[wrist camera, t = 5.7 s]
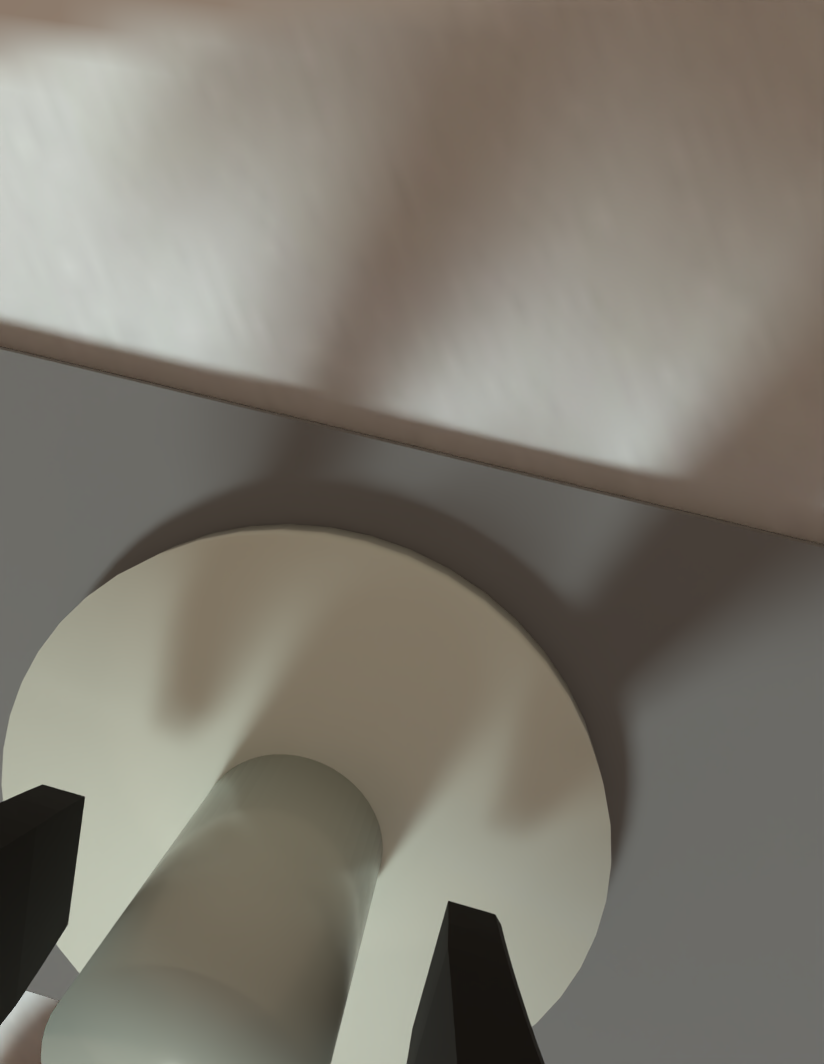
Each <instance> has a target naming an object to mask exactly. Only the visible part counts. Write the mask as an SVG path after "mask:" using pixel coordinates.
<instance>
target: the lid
mask: <svg viewBox="0 0 824 1064" xmlns="http://www.w3.org/2000/svg"><path fill="white" fill-rule="evenodd" d="M42 784H43V785H47V786H50V787H54V788H57V789H61V790H64V791H68V792H71V793H75V794H78V795H82V796H85V802H84V809H83V817H82V824H81V832H80V839H79V847H78V854H77V862H76V869H75V877H74V884H73V892H72V899H71V907H70V914H69V922H68V926H67V927H66V929H65V930H64V932H63V934H62V935H61V937H60V938H59V940H58V941H57V943H56V944H57V946H58V947H59V949H60V950H61V951H62V952H63V954H64V955H65V956H66V957H67V959H68V960H69V961H70V962H71V964H72V965H73V966H74V967H75V968H76V970H77V971H78V972H79V975H78V976H77V978H76V979H75V980H74V982H73V983H72V985H71V986H70V987H69V989H68V990H67V991H66V993H65V994H64V996H63V997H62V998H61V1000H60V1001H59V1003H58V1004H57V1006H56V1007H55V1009H54V1010H53V1012H52V1013H51V1015H50V1018H49V1020H48V1022H47V1025H46V1027H45V1031H44V1035H43V1039H42V1047H41V1064H407V1058H408V1052H409V1045H410V1039H411V1033H412V1028H413V1024H414V1020H415V1017H416V1013H417V1010H418V1006H419V1003H420V999H421V996H422V992H423V988H424V985H425V981H426V978H427V974H428V971H429V967H430V964H431V960H432V956H433V953H434V949H435V946H436V942H437V939H438V935H439V932H440V928H441V925H442V921H443V917H444V914H445V910H446V907H447V903H448V901H451V902H455V903H458V904H462V905H465V906H469V907H472V908H476V909H479V910H483V911H486V912H489V913H493V914H495V915H496V916H497V918H498V920H499V922H500V923H501V926H502V930H503V934H504V938H505V942H506V945H507V949H508V953H509V956H510V960H511V963H512V967H513V970H514V974H515V977H516V980H517V983H518V987H519V990H520V993H521V996H522V999H523V1002H524V1005H525V1008H526V1011H527V1014H528V1018H529V1021H530V1024H531V1026H534V1025H535V1024H536V1023H537V1022H538V1021H539V1020H540V1019H541V1018H542V1017H543V1016H544V1015H545V1013H546V1012H547V1011H548V1010H549V1009H550V1008H551V1007H552V1006H553V1005H554V1004H555V1003H556V1002H557V1001H558V999H559V998H560V997H561V996H562V994H563V993H564V991H565V990H566V989H567V987H568V986H569V984H570V983H571V981H572V980H573V978H574V977H575V975H576V974H577V972H578V971H579V969H580V968H581V966H582V964H583V962H584V960H585V958H586V955H587V953H588V951H589V949H590V947H591V945H592V943H593V941H594V939H595V937H596V934H597V930H598V927H599V924H600V920H601V917H602V914H603V910H604V907H605V903H606V899H607V892H608V884H609V877H610V870H611V825H610V819H609V813H608V807H607V801H606V796H605V790H604V784H603V780H602V777H601V773H600V769H599V765H598V761H597V757H596V754H595V751H594V748H593V745H592V742H591V739H590V736H589V732H588V729H587V726H586V723H585V720H584V718H583V716H582V714H581V712H580V710H579V708H578V706H577V704H576V702H575V700H574V698H573V696H572V694H571V692H570V690H569V688H568V686H567V684H566V682H565V681H564V679H563V678H562V676H561V675H560V674H559V672H558V671H557V669H556V668H555V666H554V665H553V663H552V662H551V660H550V659H549V657H548V656H547V654H546V653H545V651H544V650H543V649H542V648H541V647H540V646H539V644H538V643H537V642H536V641H535V640H534V639H533V638H532V637H531V635H530V634H529V633H528V632H527V631H526V630H525V629H524V627H523V626H522V625H521V624H520V623H519V622H518V621H517V620H516V619H515V618H514V617H513V616H512V615H511V614H509V613H508V612H507V611H506V610H505V609H504V608H503V607H501V606H500V605H499V604H498V603H497V602H496V601H495V600H493V599H492V598H491V597H490V596H489V595H488V594H486V593H485V592H484V591H482V590H481V589H479V588H478V587H476V586H475V585H473V584H472V583H470V582H469V581H467V580H466V579H464V578H463V577H461V576H460V575H458V574H457V573H455V572H454V571H452V570H451V569H449V568H447V567H445V566H443V565H441V564H439V563H437V562H435V561H433V560H431V559H429V558H427V557H425V556H423V555H421V554H419V553H417V552H415V551H413V550H411V549H408V548H405V547H402V546H400V545H397V544H394V543H391V542H388V541H385V540H382V539H380V538H377V537H374V536H370V535H366V534H361V533H356V532H352V531H347V530H342V529H337V528H333V527H323V526H310V525H298V524H279V525H259V526H248V527H242V528H237V529H232V530H227V531H221V532H216V533H211V534H208V535H205V536H202V537H200V538H197V539H194V540H191V541H188V542H185V543H182V544H179V545H176V546H174V547H172V548H170V549H168V550H166V551H164V552H162V553H160V554H158V555H156V556H154V557H152V558H150V559H148V560H146V561H144V562H142V563H140V564H138V565H136V566H134V567H132V568H130V569H128V570H126V571H124V572H122V573H120V574H118V575H117V576H115V577H114V578H112V579H111V580H110V581H108V582H107V583H105V584H104V585H103V586H101V587H100V588H98V589H97V590H96V591H94V592H93V593H91V594H90V595H89V596H87V597H86V598H85V599H84V600H83V601H82V602H81V603H80V604H79V605H78V606H77V607H76V608H75V609H74V610H73V611H72V612H70V613H69V614H68V615H67V616H66V617H65V618H64V619H63V620H62V621H61V622H60V623H59V625H58V626H57V627H56V629H55V630H54V631H53V633H52V634H51V635H50V637H49V638H48V639H47V641H46V642H45V643H44V645H43V646H42V647H41V649H40V650H39V651H38V653H37V655H36V657H35V659H34V660H33V662H32V664H31V666H30V668H29V670H28V672H27V673H26V675H25V677H24V679H23V681H22V683H21V686H20V688H19V691H18V694H17V697H16V700H15V703H14V705H13V708H12V711H11V714H10V718H9V723H8V728H7V733H6V738H5V743H4V748H3V764H2V796H3V801H5V800H7V799H9V798H12V797H14V796H16V795H18V794H21V793H23V792H25V791H28V790H30V789H32V788H35V787H37V786H40V785H42Z"/></svg>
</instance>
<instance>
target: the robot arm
mask: <svg viewBox="0 0 824 1064" xmlns="http://www.w3.org/2000/svg"><path fill="white" fill-rule="evenodd" d="M84 802H85V796H82V795H78V794H75V793H71V792H68V791H64V790H61V789H57V788H54V787H50V786H47V785H43V784H42V785H40V786H37V787H35V788H32V789H30V790H28V791H25V792H23V793H21V794H18V795H16V796H14V797H12V798H9V799H7V800H5V801H3V802H1V803H0V1025H1V1024H2V1022H3V1021H4V1020H5V1018H6V1017H7V1016H8V1015H9V1013H10V1012H11V1011H12V1010H13V1008H14V1007H15V1006H16V1004H17V1003H18V1001H19V1000H20V998H21V997H22V995H23V994H24V992H25V991H26V989H27V988H28V986H29V985H30V983H31V982H32V980H33V979H34V977H35V976H36V974H37V973H38V971H39V970H40V968H41V967H42V965H43V963H44V962H45V960H46V959H47V957H48V956H49V954H50V952H51V951H52V949H53V948H54V946H55V945H56V943H57V941H58V940H59V938H60V937H61V935H62V934H63V932H64V930H65V929H66V927H67V926H68V922H69V914H70V907H71V899H72V892H73V884H74V877H75V869H76V862H77V854H78V847H79V839H80V832H81V824H82V817H83V809H84ZM407 1064H545V1063H544V1060H543V1057H542V1055H541V1052H540V1049H539V1047H538V1044H537V1041H536V1038H535V1035H534V1032H533V1029H532V1026H531V1024H530V1021H529V1018H528V1014H527V1011H526V1008H525V1005H524V1002H523V999H522V996H521V993H520V990H519V987H518V983H517V980H516V977H515V974H514V970H513V967H512V963H511V960H510V956H509V953H508V949H507V945H506V942H505V938H504V934H503V930H502V926H501V923H500V922H499V920H498V918H497V916H496V915H495V914H493V913H489V912H486V911H483V910H479V909H476V908H472V907H469V906H465V905H462V904H458V903H455V902H451V901H448V903H447V907H446V910H445V914H444V917H443V921H442V925H441V928H440V932H439V935H438V939H437V942H436V946H435V949H434V953H433V956H432V960H431V964H430V967H429V971H428V974H427V978H426V981H425V985H424V988H423V992H422V996H421V999H420V1003H419V1006H418V1010H417V1013H416V1017H415V1020H414V1024H413V1028H412V1033H411V1039H410V1045H409V1052H408V1058H407Z"/></svg>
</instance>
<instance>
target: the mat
mask: <svg viewBox="0 0 824 1064" xmlns="http://www.w3.org/2000/svg"><path fill="white" fill-rule="evenodd" d="M279 524H298V525H310V526H323V527H333V528H337V529H342V530H347V531H352V532H356V533H361V534H366V535H370V536H374V537H377V538H380V539H382V540H385V541H388V542H391V543H394V544H397V545H400V546H402V547H405V548H408V549H411V550H413V551H415V552H417V553H419V554H421V555H423V556H425V557H427V558H429V559H431V560H433V561H435V562H437V563H439V564H441V565H443V566H445V567H447V568H449V569H451V570H452V571H454V572H455V573H457V574H458V575H460V576H461V577H463V578H464V579H466V580H467V581H469V582H470V583H472V584H473V585H475V586H476V587H478V588H479V589H481V590H482V591H484V592H485V593H486V594H488V595H489V596H490V597H491V598H492V599H493V600H495V601H496V602H497V603H498V604H499V605H500V606H501V607H503V608H504V609H505V610H506V611H507V612H508V613H509V614H511V615H512V616H513V617H514V618H515V619H516V620H517V621H518V622H519V623H520V624H521V625H522V626H523V627H524V629H525V630H526V631H527V632H528V633H529V634H530V635H531V637H532V638H533V639H534V640H535V641H536V642H537V643H538V644H539V646H540V647H541V648H542V649H543V650H544V651H545V653H546V654H547V656H548V657H549V659H550V660H551V662H552V663H553V665H554V666H555V668H556V669H557V671H558V672H559V674H560V675H561V676H562V678H563V679H564V681H565V682H566V684H567V686H568V688H569V690H570V692H571V694H572V696H573V698H574V700H575V702H576V704H577V706H578V708H579V710H580V712H581V714H582V716H583V718H584V720H585V723H586V726H587V729H588V732H589V736H590V739H591V742H592V745H593V748H594V751H595V754H596V757H597V761H598V765H599V769H600V773H601V777H602V780H603V784H604V790H605V796H606V801H607V807H608V813H609V819H610V825H611V870H610V877H609V884H608V892H607V899H606V903H605V907H604V910H603V914H602V917H601V920H600V924H599V927H598V930H597V934H596V937H595V939H594V941H593V943H592V945H591V947H590V949H589V951H588V953H587V955H586V958H585V960H584V962H583V964H582V966H581V968H580V969H579V971H578V972H577V974H576V975H575V977H574V978H573V980H572V981H571V983H570V984H569V986H568V987H567V989H566V990H565V991H564V993H563V994H562V996H561V997H560V998H559V999H558V1001H557V1002H556V1003H555V1004H554V1005H553V1006H552V1007H551V1008H550V1009H549V1010H548V1011H547V1012H546V1013H545V1015H544V1016H543V1017H542V1018H541V1019H540V1020H539V1021H538V1022H537V1023H536V1024H535V1025H534V1026H532V1029H533V1032H534V1035H535V1038H536V1041H537V1044H538V1047H539V1049H540V1052H541V1055H542V1057H543V1060H544V1063H545V1064H824V545H822V544H818V543H814V542H810V541H805V540H801V539H797V538H793V537H789V536H785V535H781V534H776V533H772V532H768V531H764V530H760V529H756V528H751V527H747V526H743V525H739V524H735V523H731V522H727V521H722V520H718V519H714V518H710V517H706V516H702V515H698V514H693V513H689V512H685V511H681V510H677V509H673V508H669V507H664V506H660V505H656V504H652V503H648V502H644V501H640V500H635V499H631V498H627V497H623V496H619V495H615V494H610V493H606V492H602V491H598V490H594V489H590V488H586V487H581V486H577V485H573V484H569V483H565V482H561V481H557V480H552V479H548V478H544V477H540V476H536V475H532V474H528V473H523V472H519V471H515V470H511V469H507V468H503V467H499V466H494V465H490V464H486V463H482V462H478V461H474V460H469V459H465V458H461V457H457V456H453V455H449V454H445V453H440V452H436V451H432V450H428V449H424V448H420V447H416V446H411V445H407V444H403V443H399V442H395V441H391V440H387V439H382V438H378V437H374V436H370V435H366V434H362V433H358V432H353V431H349V430H345V429H341V428H337V427H333V426H328V425H324V424H320V423H316V422H312V421H308V420H304V419H299V418H295V417H291V416H287V415H283V414H279V413H275V412H270V411H266V410H262V409H258V408H254V407H250V406H246V405H241V404H237V403H233V402H229V401H225V400H221V399H217V398H212V397H208V396H204V395H200V394H196V393H192V392H188V391H183V390H179V389H175V388H171V387H167V386H163V385H158V384H154V383H150V382H146V381H142V380H138V379H134V378H129V377H125V376H121V375H117V374H113V373H109V372H105V371H100V370H96V369H92V368H88V367H84V366H80V365H76V364H71V363H67V362H63V361H59V360H55V359H51V358H47V357H42V356H38V355H34V354H30V353H26V352H22V351H17V350H13V349H9V348H5V347H1V346H0V803H1V802H3V796H2V764H3V748H4V743H5V738H6V733H7V728H8V723H9V718H10V714H11V711H12V708H13V705H14V703H15V700H16V697H17V694H18V691H19V688H20V686H21V683H22V681H23V679H24V677H25V675H26V673H27V672H28V670H29V668H30V666H31V664H32V662H33V660H34V659H35V657H36V655H37V653H38V651H39V650H40V649H41V647H42V646H43V645H44V643H45V642H46V641H47V639H48V638H49V637H50V635H51V634H52V633H53V631H54V630H55V629H56V627H57V626H58V625H59V623H60V622H61V621H62V620H63V619H64V618H65V617H66V616H67V615H68V614H69V613H70V612H72V611H73V610H74V609H75V608H76V607H77V606H78V605H79V604H80V603H81V602H82V601H83V600H84V599H85V598H86V597H87V596H89V595H90V594H91V593H93V592H94V591H96V590H97V589H98V588H100V587H101V586H103V585H104V584H105V583H107V582H108V581H110V580H111V579H112V578H114V577H115V576H117V575H118V574H120V573H122V572H124V571H126V570H128V569H130V568H132V567H134V566H136V565H138V564H140V563H142V562H144V561H146V560H148V559H150V558H152V557H154V556H156V555H158V554H160V553H162V552H164V551H166V550H168V549H170V548H172V547H174V546H176V545H179V544H182V543H185V542H188V541H191V540H194V539H197V538H200V537H202V536H205V535H208V534H211V533H216V532H221V531H227V530H232V529H237V528H242V527H248V526H259V525H279ZM78 975H79V972H78V971H77V970H76V968H75V967H74V966H73V965H72V964H71V962H70V961H69V960H68V959H67V957H66V956H65V955H64V954H63V952H62V951H61V950H60V949H59V947H58V946H57V944H56V945H55V946H54V948H53V949H52V951H51V952H50V954H49V956H48V957H47V959H46V960H45V962H44V963H43V965H42V967H41V968H40V970H39V971H38V973H37V974H36V976H35V977H34V979H33V980H32V982H31V983H30V985H29V986H28V988H27V989H26V991H29V992H33V993H36V994H39V995H42V996H46V997H49V998H52V999H55V1000H58V1001H60V1000H61V998H62V997H63V996H64V994H65V993H66V991H67V990H68V989H69V987H70V986H71V985H72V983H73V982H74V980H75V979H76V978H77V976H78Z"/></svg>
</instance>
